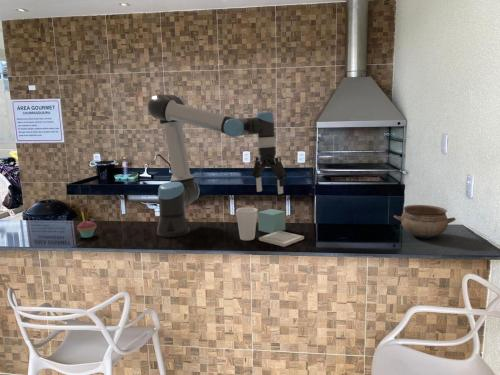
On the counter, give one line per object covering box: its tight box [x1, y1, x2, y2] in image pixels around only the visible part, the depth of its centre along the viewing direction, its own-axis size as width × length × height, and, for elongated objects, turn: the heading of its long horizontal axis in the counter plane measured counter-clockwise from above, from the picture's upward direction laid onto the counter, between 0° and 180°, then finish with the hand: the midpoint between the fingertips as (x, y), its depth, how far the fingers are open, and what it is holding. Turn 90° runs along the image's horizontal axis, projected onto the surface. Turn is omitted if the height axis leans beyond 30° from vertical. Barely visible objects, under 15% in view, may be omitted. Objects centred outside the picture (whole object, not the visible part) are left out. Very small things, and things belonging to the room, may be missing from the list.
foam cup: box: [235, 207, 259, 241], centre depth 179 cm, size 10×9×13 cm
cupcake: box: [76, 212, 98, 239], centre depth 187 cm, size 9×8×12 cm
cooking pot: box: [393, 204, 457, 240], centre depth 176 cm, size 25×19×12 cm
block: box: [257, 208, 286, 234], centre depth 191 cm, size 9×9×9 cm
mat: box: [258, 230, 305, 248], centre depth 177 cm, size 14×14×1 cm
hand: (269, 192), depth 187 cm, fingers open, 13 cm apart
